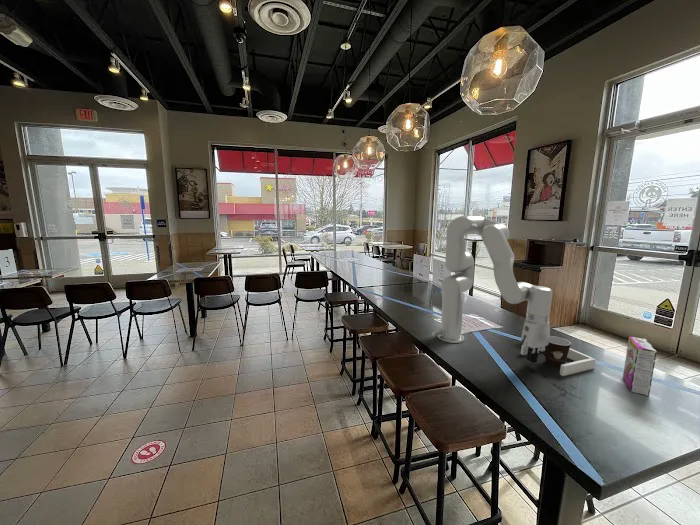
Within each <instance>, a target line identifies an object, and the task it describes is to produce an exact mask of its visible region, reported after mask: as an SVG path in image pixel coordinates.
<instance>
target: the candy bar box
mask: <svg viewBox="0 0 700 525" xmlns="http://www.w3.org/2000/svg"><path fill="white" fill-rule="evenodd" d="M627 341H628V342H627V348H626V353H625V354H626V355H625V361H624V367H623V373H622V378H623V380H624V381H625V384H626V385H627V387H628V390H629V391H630V393H634V394H637V395H642V396H646V397H647V396H648V397H650V392H651V387H652V380H653V376H654V369H655V363H656V357H657V350H656V349H655V347H654V346H652V344H651V343H650V342H649V340H647V339H646V338H641V337H635V336H628V340H627Z"/></svg>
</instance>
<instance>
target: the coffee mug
mask: <svg viewBox="0 0 700 525" xmlns="http://www.w3.org/2000/svg"><path fill="white" fill-rule="evenodd" d="M571 345H572V342H571V341H570V340H569V339H566V338H564V337H559V336H554V335H553V336H552V335H550V339H549V344H548V345H547V346H545V351H542V352H541V351H539V353H540V354H542V355H543V356H544V358H545V359H544V360H545V363H546V365H548V366H550V367H554V368H559V369H560V368H561V365H562V364H566V362H567V359H568V358H567V356H568V352H569V349H570V348H571Z"/></svg>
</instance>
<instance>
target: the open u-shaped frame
mask: <svg viewBox="0 0 700 525" xmlns="http://www.w3.org/2000/svg"><path fill="white" fill-rule="evenodd" d="M522 346H523V344H522V345H521V348H520V355H522V356H527V353H528V351H527V350H525V349H523V348H522ZM540 351H541V352H545V346H544V347H541V348H540ZM567 359H569V360H572V361H573V362H572V361H571V362H567V363H565V364H562V365H561V368H559V369H560V370H559V375H560V376H561V377H565V376H569V375H574V374H578V373H582V372H585V371H590V370H594V369H595V366H596V361H597V359H596V358H594V357H592V356H590V355H587V354H585V353H582V352H580V351H578V350H576V349H572V348H571V347H570V349H569V352H568V356H567Z"/></svg>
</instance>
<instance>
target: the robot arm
mask: <svg viewBox="0 0 700 525" xmlns="http://www.w3.org/2000/svg"><path fill="white" fill-rule="evenodd" d="M510 232H511V231H510V229H509V228H508V227H507V226H506V225H505V224H503V223H500V222H498V221H495V220H492V219H490V218H486V217H484V216H481V215H470V214H469V215H461V216H458V217H456V218H455V217H454V219H452V220H451V221H450V223H449V224H448V225H447V228H446V232H445V233H446V235H445V236H446V237H445V238H446V239H445V240H446V246H445V262H444V263H445V268H446V270H447V271H448V272H450V273H454V274H449V275H448V276H446V277H444V278H443V280H442V282H441V284H440V285H441V287H440V288H441V297H442V299H441V300H442V301H441V302H442V305H441V320H440V321H441V322H440V323H441V324H440V327H439V328H438V330H437V331H432V332H431V335H432V336H433V337H434V336H437V339H439V340H440V341H443V342H446V343H450V344H458V343H462V342H464V341H465V336H464V335H463V334H462V329H463V328H462V326H463V312H464V300H463V296H462V293H465V292H467V291H470V289H472V287H473V284H474V276H475V275H474V274H475V273H474V272H475V259H474V257H473V254H471V253H470V252H469V251H466V244H467V243H466V238H465V236H467V235H477V236H481V240H482V243H483V245H484V247H485V249H486V251H487V253H488V254H489V258H490V259H491V262H492V265H493V276H494V280H495V284H496V287H497V289H498V290H499V292H500V295H501V297H502V298H503V299H504V300H505V301H506V303H509V304H511V305H516V304H520V303H522V302H524V301H525V302H526V301H527V308H526V315H525V316H526V317H525V320H524V323H523V328H522V331H521V337H520V338H521V339H520V340H521V341H520V343H521V344H522V345H523V346H522V345H521V346H522V348H523V349H525V350H527V351H528V353H527V355H526V360H527V361H528V362H531V363H532V364H535V363H537V362H538V357H539V356H538V355H539V353H540V352H539V351H540V348H541V347H544V346H547V345H548V344H549V339H550V336H551V325H550V315H551V309H552V308H551V307H552V300H553V293H554V292H553V290H552V289H551V288H550V287H547V286H542V285H534V284H532V283H528V282H525V281H517V280H516V277H515V273H514V268H513V267H514V262H515V254H514V252H513V250H512V248H511V246H510V243H509V242H508V239H509V238H510V235H511V233H510Z"/></svg>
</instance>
